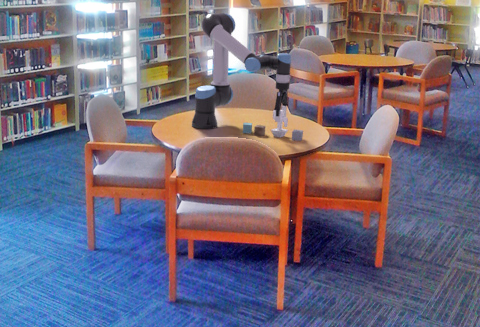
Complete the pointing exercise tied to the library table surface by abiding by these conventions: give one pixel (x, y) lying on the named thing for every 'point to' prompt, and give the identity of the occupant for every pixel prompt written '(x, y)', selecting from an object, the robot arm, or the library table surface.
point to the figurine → (280, 125)
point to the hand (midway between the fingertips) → (280, 119)
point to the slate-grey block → (297, 135)
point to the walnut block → (259, 130)
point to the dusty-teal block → (247, 127)
